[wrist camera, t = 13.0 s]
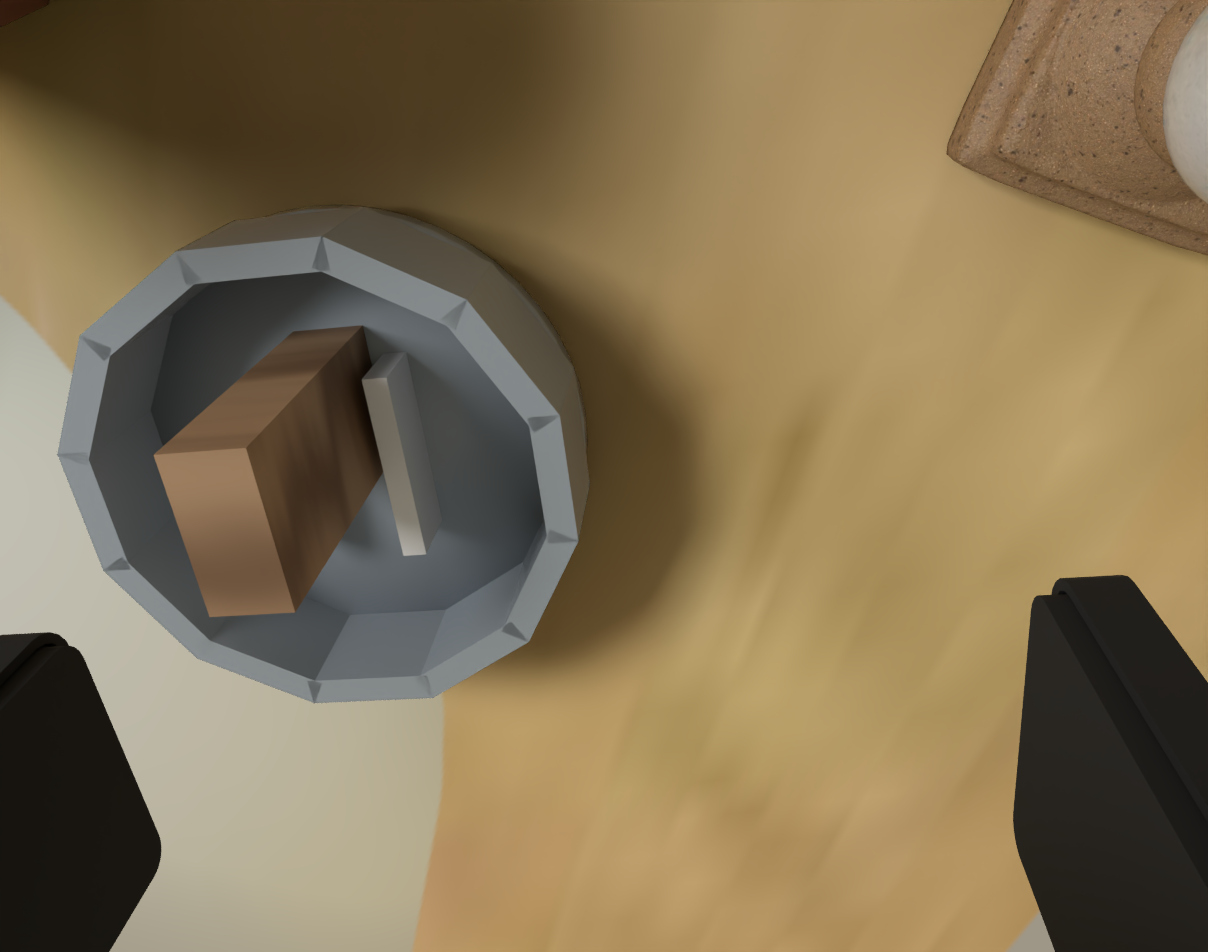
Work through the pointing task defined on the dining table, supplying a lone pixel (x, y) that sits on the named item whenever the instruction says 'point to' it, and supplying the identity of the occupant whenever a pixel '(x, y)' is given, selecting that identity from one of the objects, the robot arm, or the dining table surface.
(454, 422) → the grey bowl
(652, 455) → the dining table surface
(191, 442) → the brown rectangular block
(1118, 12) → the candle holder
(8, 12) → the bucket
